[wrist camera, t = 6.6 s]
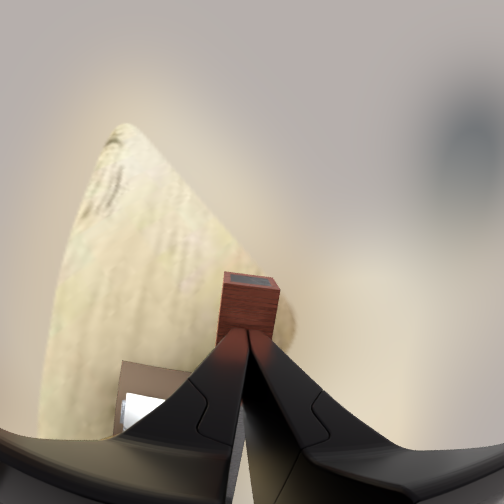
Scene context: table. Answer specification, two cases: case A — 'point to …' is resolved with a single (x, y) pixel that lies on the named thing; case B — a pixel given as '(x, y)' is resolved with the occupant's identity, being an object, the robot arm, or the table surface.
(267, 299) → the lever
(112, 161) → the table surface
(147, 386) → the board
